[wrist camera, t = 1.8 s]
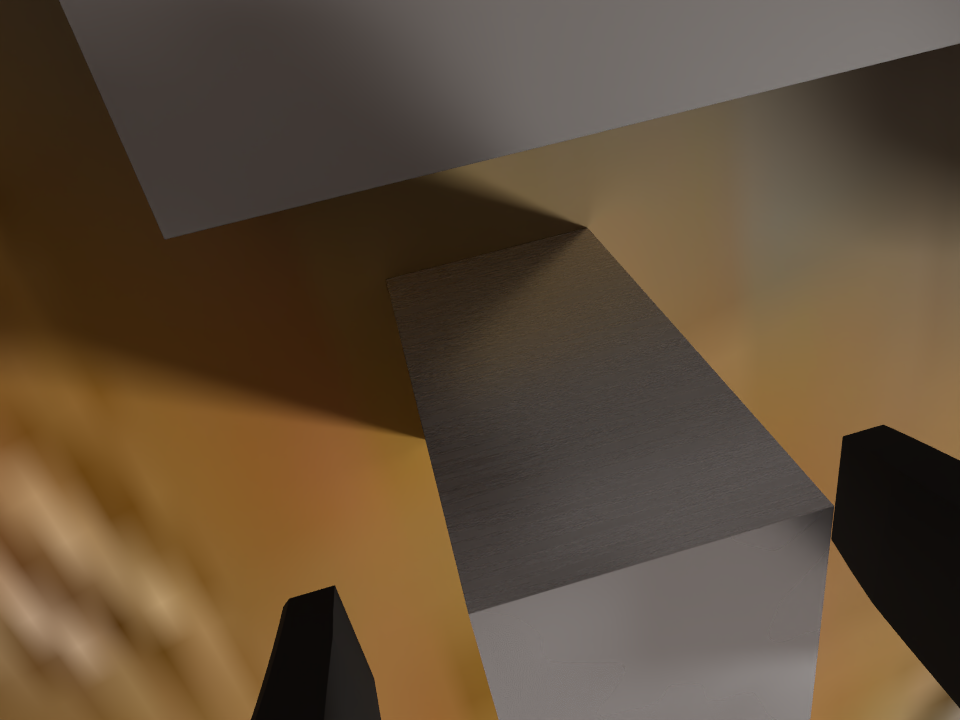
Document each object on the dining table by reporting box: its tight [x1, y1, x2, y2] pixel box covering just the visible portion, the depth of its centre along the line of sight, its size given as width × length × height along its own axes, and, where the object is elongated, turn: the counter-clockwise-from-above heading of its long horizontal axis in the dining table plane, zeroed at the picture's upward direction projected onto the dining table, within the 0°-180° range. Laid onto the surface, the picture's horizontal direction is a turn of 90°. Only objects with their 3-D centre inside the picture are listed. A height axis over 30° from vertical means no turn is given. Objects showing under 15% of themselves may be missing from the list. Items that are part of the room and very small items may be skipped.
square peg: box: [386, 228, 834, 720], centre depth 12 cm, size 4×4×8 cm
